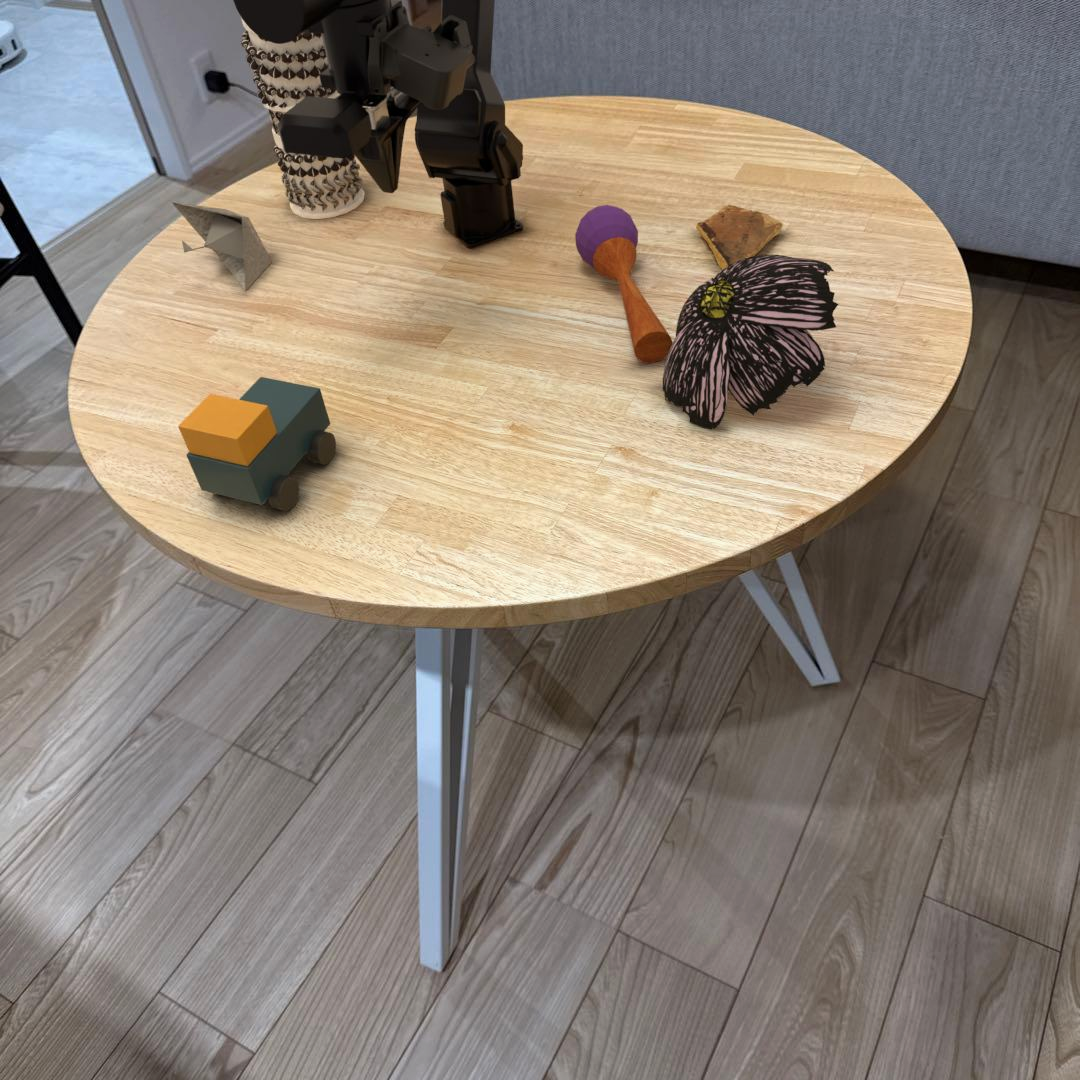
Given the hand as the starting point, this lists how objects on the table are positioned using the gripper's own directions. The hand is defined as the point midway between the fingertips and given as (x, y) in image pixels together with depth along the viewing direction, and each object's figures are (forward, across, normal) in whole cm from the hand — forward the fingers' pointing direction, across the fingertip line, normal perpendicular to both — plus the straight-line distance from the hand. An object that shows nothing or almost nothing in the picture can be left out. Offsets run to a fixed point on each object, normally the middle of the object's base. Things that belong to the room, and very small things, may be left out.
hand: (390, 191), depth 86 cm
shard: (+12, +19, -27) cm, 35 cm away
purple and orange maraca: (+12, +6, -19) cm, 23 cm away
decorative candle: (+12, +18, +20) cm, 30 cm away
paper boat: (+12, +2, +23) cm, 26 cm away
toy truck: (+8, -19, 0) cm, 21 cm away
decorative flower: (+12, -3, -32) cm, 35 cm away
